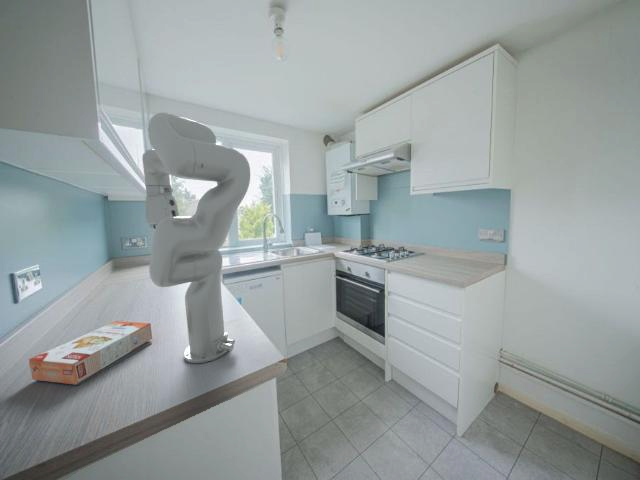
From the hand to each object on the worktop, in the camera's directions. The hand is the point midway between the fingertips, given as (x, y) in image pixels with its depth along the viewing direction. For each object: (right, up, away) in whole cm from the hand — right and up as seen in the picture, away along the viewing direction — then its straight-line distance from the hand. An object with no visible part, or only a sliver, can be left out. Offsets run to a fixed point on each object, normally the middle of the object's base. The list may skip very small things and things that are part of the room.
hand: (164, 243), depth 82 cm
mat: (-8, -33, -16) cm, 38 cm away
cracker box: (-6, -29, -7) cm, 30 cm away
